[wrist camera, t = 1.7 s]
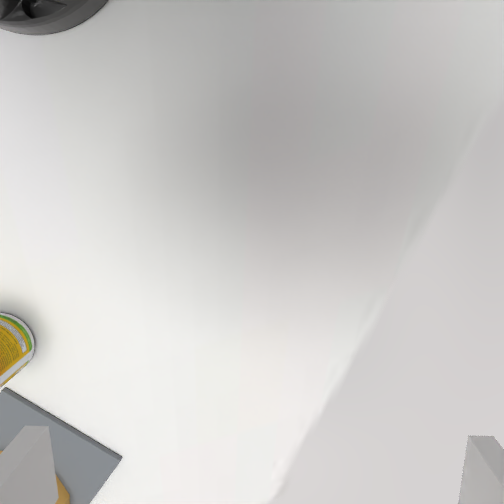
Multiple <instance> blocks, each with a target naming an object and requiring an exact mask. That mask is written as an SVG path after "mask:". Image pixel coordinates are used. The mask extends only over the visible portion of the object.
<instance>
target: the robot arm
mask: <svg viewBox="0 0 504 504" xmlns="http://www.w3.org/2000/svg"><path fill="white" fill-rule="evenodd" d="M107 1H108V0H0V28H2V29H4V30H8V31H11V32H15V33H20V34H28V35H44V34H52V33H56V32H60V31H64V30H67V29H69V28H72V27H74V26H76V25H78V24H80V23H82V22H83V21H85V20H87V19H88V18H89V17H91V16H92V15H93V14H95V13H96V12H97V11H98V10H99V9H100V8H101V7H102V6H103V5H104V4H105V3H106V2H107ZM58 498H59V496H58V489H57V482H56V475H55V468H54V461H53V454H52V447H51V440H50V433H49V426H24V427H23V429H22V430H21V431H20V432H19V433H18V434H17V436H16V437H15V438H14V439H13V440H12V441H11V442H10V444H9V445H8V446H7V447H6V448H5V449H4V450H3V452H2V453H1V454H0V504H55V503H56V501H57V500H58ZM458 504H504V449H503V448H502V447H501V445H500V444H499V443H498V441H497V440H496V439H495V437H494V436H468V440H467V447H466V453H465V460H464V468H463V475H462V481H461V488H460V496H459V503H458Z"/></svg>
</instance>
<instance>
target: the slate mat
mask: <svg viewBox="0 0 504 504" xmlns="http://www.w3.org/2000/svg"><path fill="white" fill-rule="evenodd" d="M24 426H49V433H50V440H51V447H52V454H53V461H54V468H55V474H56V475H57V477H58V478H59V480H60V481H61V483H62V484H63V486H64V487H65V489H66V490H67V492H68V493H69V495H70V504H89V503H90V502H91V501H92V499H93V498H94V497H95V495H96V494H97V492H98V491H99V490H100V488H101V487H102V486H103V484H104V483H105V481H106V480H107V479H108V477H109V476H110V475H111V473H112V472H113V470H114V469H115V468H116V466H117V465H118V464H119V462H120V461H121V459H122V457H121V456H119V455H118V454H116V453H114V452H113V451H111V450H109V449H108V448H106V447H104V446H103V445H101V444H99V443H98V442H96V441H94V440H93V439H91V438H89V437H88V436H86V435H84V434H83V433H81V432H79V431H78V430H76V429H74V428H73V427H71V426H69V425H68V424H66V423H64V422H63V421H61V420H59V419H58V418H56V417H54V416H53V415H51V414H49V413H47V412H46V411H44V410H42V409H41V408H39V407H37V406H36V405H34V404H32V403H31V402H29V401H27V400H26V399H24V398H22V397H21V396H19V395H17V394H16V393H14V392H12V391H11V390H9V389H7V388H6V387H5V388H4V389H3V390H2V391H1V393H0V451H3V450H4V449H5V448H6V447H7V446H8V445H9V444H10V442H11V441H12V440H13V439H14V438H15V437H16V436H17V434H18V433H19V432H20V431H21V430H22V429H23V427H24Z"/></svg>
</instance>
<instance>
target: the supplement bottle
mask: <svg viewBox="0 0 504 504" xmlns="http://www.w3.org/2000/svg"><path fill="white" fill-rule="evenodd" d="M34 347H35V346H34V339H33V336H32V333H31V331H30V330H29V328H28V327H27V326H26V324H25V323H24V322H22V321H21V320H20V319H18V318H16V317H14V316H12V315H9V314H5V313H0V388H1V387H2V386H3V385H4V384H5V383H7V382H8V381H9V380H10V379H11V378H12V377H13V376H15V375H16V374H17V373H18V372H19V371H20V370H21V369H22V368H24V367H25V366H26V365H27V364H28V362H29V361H30V360H31V358H32V356H33V353H34Z"/></svg>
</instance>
